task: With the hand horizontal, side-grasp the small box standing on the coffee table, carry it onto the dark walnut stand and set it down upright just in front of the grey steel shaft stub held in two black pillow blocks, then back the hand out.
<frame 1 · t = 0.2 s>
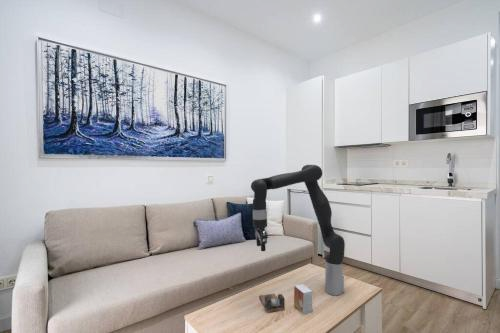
hand: (260, 248, 128), 28 cm above the table, tool pointing down, fingers open, 8 cm apart
small box: (302, 309, 122), on the table
stand: (271, 303, 126), on the table
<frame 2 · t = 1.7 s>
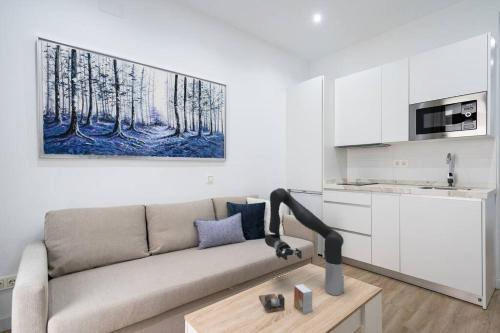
hand: (293, 257, 133), 22 cm above the table, tool horizontal, fingers open, 8 cm apart
nothing on the table moved.
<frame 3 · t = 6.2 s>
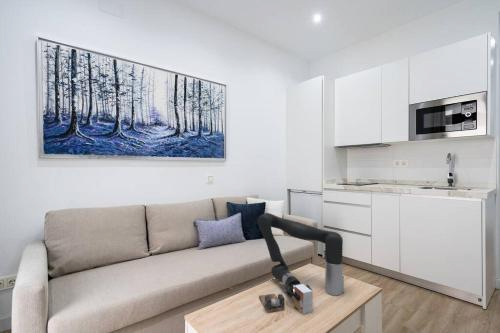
hand: (305, 298, 120), 7 cm above the table, tool horizontal, fingers closed on small box, 6 cm apart
small box: (302, 309, 122), on the table, touching gripper
when the fingers open (9 cm above the table, at t = 11.8 s): small box drops 1 cm, resting on stand.
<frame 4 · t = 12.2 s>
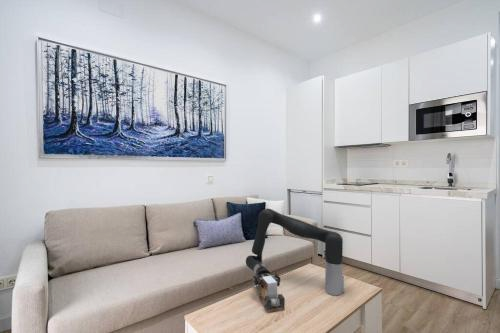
hand: (271, 285, 127), 9 cm above the table, tool horizontal, fingers open, 8 cm apart
small box: (269, 299, 128), point 1 cm above the table, touching stand
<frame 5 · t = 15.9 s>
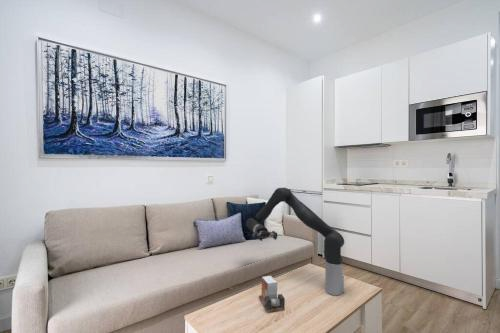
hand: (268, 238, 139), 30 cm above the table, tool horizontal, fingers open, 8 cm apart
nothing on the table moved.
at the end: small box inside the target area on the stand (0.5 cm from its centre), point 1.0 cm above the stand's base; small box tilted 0°; the gripper is holding nothing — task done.
